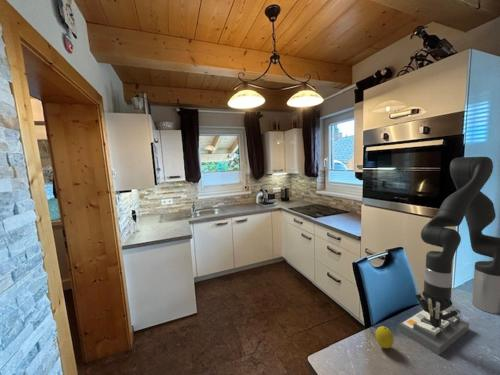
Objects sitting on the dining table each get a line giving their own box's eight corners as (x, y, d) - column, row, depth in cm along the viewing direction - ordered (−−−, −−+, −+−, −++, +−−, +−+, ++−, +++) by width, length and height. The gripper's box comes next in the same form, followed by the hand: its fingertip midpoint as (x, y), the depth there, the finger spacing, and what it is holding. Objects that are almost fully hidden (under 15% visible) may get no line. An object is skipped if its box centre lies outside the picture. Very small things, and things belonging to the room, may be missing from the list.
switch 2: (438, 309, 92) (439, 307, 92) (456, 321, 87) (457, 319, 87) (434, 311, 90) (435, 309, 90) (452, 324, 85) (453, 322, 85)
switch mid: (430, 318, 89) (430, 315, 89) (449, 324, 83) (448, 321, 84) (426, 321, 87) (425, 318, 87) (444, 327, 82) (444, 324, 82)
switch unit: (429, 311, 98) (430, 300, 97) (468, 330, 86) (469, 318, 86) (398, 330, 87) (399, 319, 87) (438, 355, 75) (439, 341, 75)
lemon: (395, 355, 76) (396, 333, 75) (378, 352, 77) (379, 331, 76) (389, 342, 81) (389, 322, 81) (373, 340, 83) (373, 320, 82)
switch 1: (421, 324, 86) (421, 321, 86) (440, 331, 80) (439, 328, 80) (416, 327, 84) (416, 324, 84) (435, 334, 79) (434, 331, 79)
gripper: (466, 287, 74) (463, 334, 76) (421, 271, 86) (419, 312, 88) (456, 293, 71) (453, 342, 72) (411, 275, 83) (409, 318, 84)
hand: (435, 326), depth 80 cm, fingers closed
